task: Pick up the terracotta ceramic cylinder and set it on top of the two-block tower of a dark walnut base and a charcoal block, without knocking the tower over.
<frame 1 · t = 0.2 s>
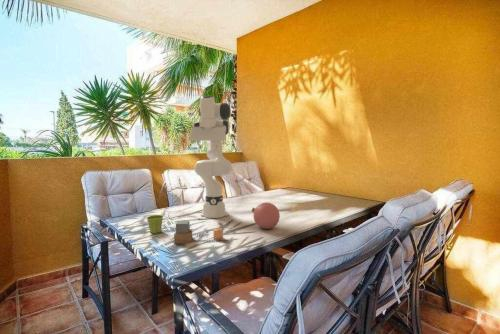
hand: (208, 148, 167), 47 cm above the table, tool pointing down, fingers open, 8 cm apart
tower base: (183, 240, 152), on the table, touching tower top
terracotta cylinder: (218, 238, 155), on the table
tower top: (183, 231, 151), point 5 cm above the table, touching tower base
balloon: (264, 227, 173), on the table
plant pot: (155, 232, 167), on the table
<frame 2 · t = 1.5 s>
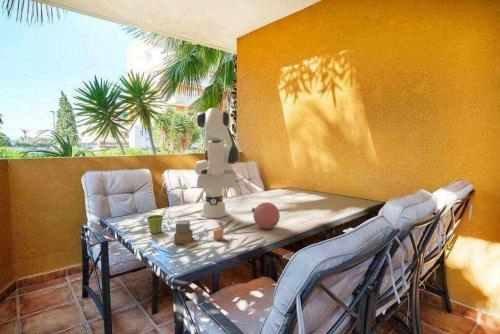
hand: (216, 196, 153), 22 cm above the table, tool pointing down, fingers open, 8 cm apart
nothing on the table moved.
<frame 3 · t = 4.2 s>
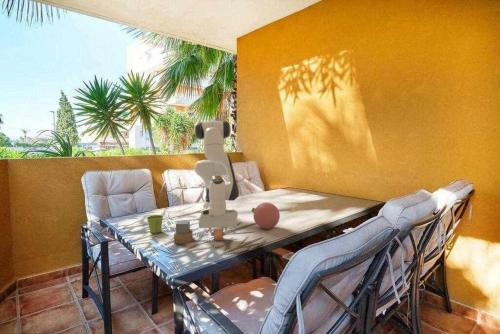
hand: (218, 235, 154), 2 cm above the table, tool pointing down, fingers closed on terracotta cylinder, 5 cm apart
terracotta cylinder: (218, 238, 155), on the table, touching gripper
everything else where it was.
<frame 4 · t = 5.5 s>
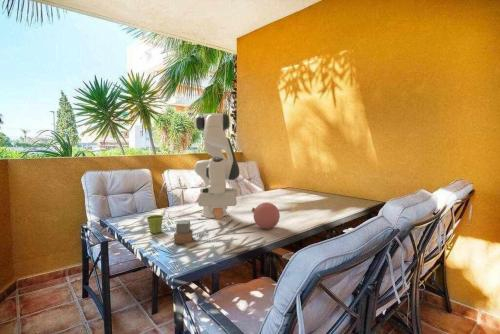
hand: (217, 214, 154), 13 cm above the table, tool pointing down, fingers closed on terracotta cylinder, 5 cm apart
terracotta cylinder: (218, 217, 154), point 11 cm above the table, touching gripper
everything else where it was.
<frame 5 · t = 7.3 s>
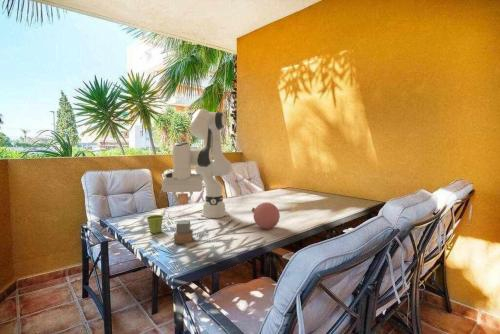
hand: (183, 200, 150), 21 cm above the table, tool pointing down, fingers closed on terracotta cylinder, 5 cm apart
terracotta cylinder: (183, 203, 150), point 20 cm above the table, touching gripper
everything else where it was.
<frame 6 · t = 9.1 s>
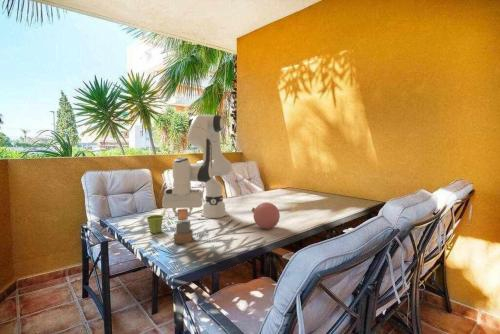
hand: (182, 215, 151), 13 cm above the table, tool pointing down, fingers closed on terracotta cylinder, 5 cm apart
terracotta cylinder: (182, 219, 151), point 11 cm above the table, touching gripper
everything else where it was.
when the fingers open (13 cm above the table, at t = 9.5 s): terracotta cylinder drops 1 cm, resting on tower top.
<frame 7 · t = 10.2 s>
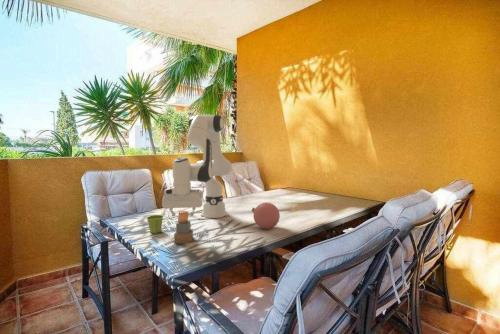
hand: (182, 215, 151), 13 cm above the table, tool pointing down, fingers open, 8 cm apart
terracotta cylinder: (182, 221, 151), point 10 cm above the table, tilted 9°, touching tower top
tower top: (183, 231, 151), point 5 cm above the table, touching terracotta cylinder, tower base
everything else where it was.
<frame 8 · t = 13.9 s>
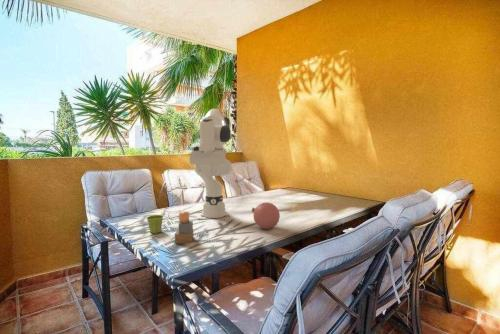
hand: (208, 172, 164), 34 cm above the table, tool pointing down, fingers open, 8 cm apart
tower base: (184, 240, 152), on the table
terracotta cylinder: (184, 222, 151), point 10 cm above the table, touching tower top
tower top: (185, 231, 151), point 5 cm above the table, touching terracotta cylinder
everything else where it was.
at the end: terracotta cylinder 0.9 cm off-centre on the tower top, point 5.0 cm above the tower top's base; tower top tilted 0°; tower top moved 1.5 cm from its start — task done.
